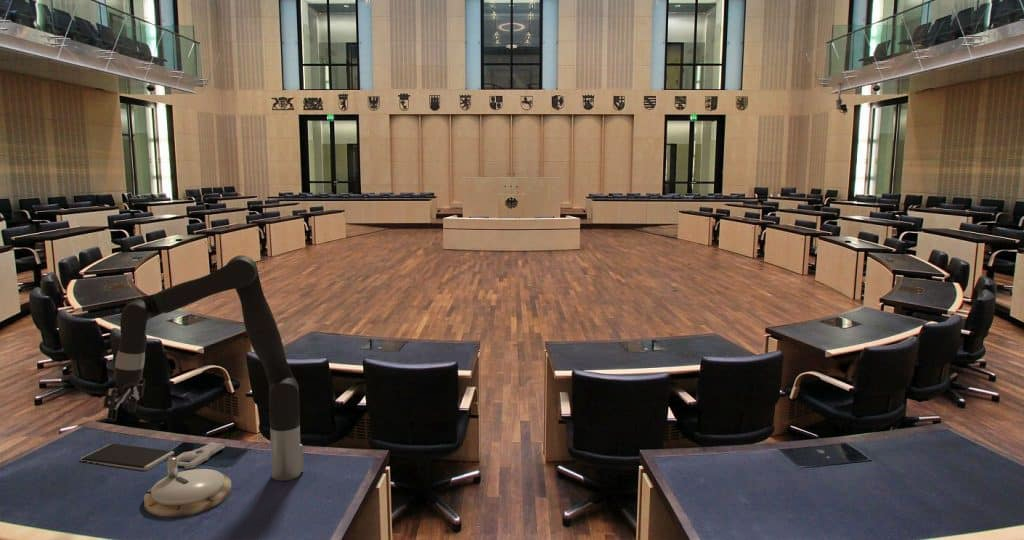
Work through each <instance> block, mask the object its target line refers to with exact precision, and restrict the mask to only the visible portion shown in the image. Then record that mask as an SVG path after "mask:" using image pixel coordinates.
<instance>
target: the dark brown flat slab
mask: <svg viewBox="0 0 1024 540" xmlns="http://www.w3.org/2000/svg"><path fill="white" fill-rule="evenodd" d="M172 455H173V456H174V455H175V451H173V450H166V449H159V448H151V447H150V448H149V447H142V446H136V445H135V446H134V445H128V444H127V445H126V444H118V443H110V444H107V445H105V446H103V447H101V448H99V449H97V450H94V451H93V452H91V453H88V454H86V455H85V456H82V457H80V462H82V461H87V462H86V463H89V462H93V463H92V464H96V463H99V464H98V465H103V464H104V465H105V466H112V467H119V468H125V469H132V470H139V471H148V470H151V468H153V467H155V466H157V465H159V464H160V463H162V462H164V461H167V458H169V457H173V456H172ZM104 465H103V466H104Z"/></svg>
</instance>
